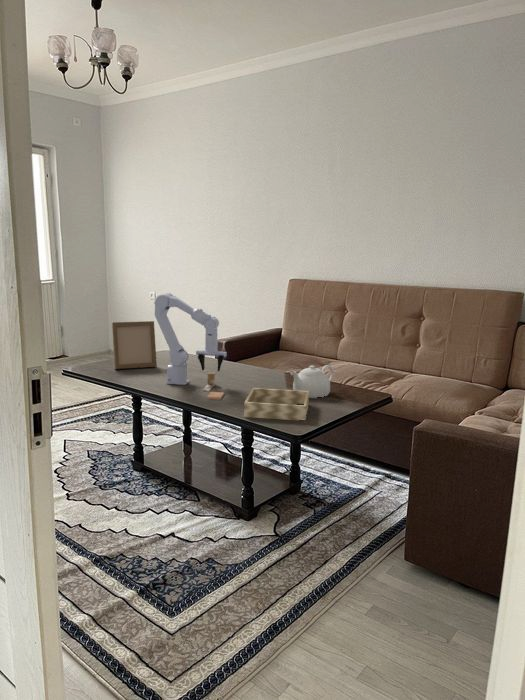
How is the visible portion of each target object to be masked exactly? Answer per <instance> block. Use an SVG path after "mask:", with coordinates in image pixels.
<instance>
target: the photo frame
mask: <svg viewBox="0 0 525 700" xmlns="http://www.w3.org/2000/svg"><path fill="white" fill-rule="evenodd" d="M111 324H112V325H111V326H112V327H111V329H112V343H113V356H114V357H113V360H114V370H121V369H136V368H138V367H139V368H151V367H152V368H154V367H157V365H158V364H157V362H158V361H157V350H156V349H157V348H156V333H155V321H154V320H151V321H124V322H123V321H116V322H112V323H111Z"/></svg>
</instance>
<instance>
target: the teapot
mask: <svg viewBox="0 0 525 700" xmlns="http://www.w3.org/2000/svg"><path fill="white" fill-rule="evenodd" d="M326 368H328V369H329V370H330V376H329V378H328V376H327V375H326V373H325V370H326ZM334 375H335V373H334V369H333V368H332V366H330V365H328V364H326V365H323V366H322V368H321V369H320V368H318V367H316V366H315V365H309V367H306V368H304V369H301V370H300V371H299V373H298V372H297V371H291V372H290V376H293V384H292V390H297V391H309V399H318V398H317V397H322V398H325V397H327V396H328V395H329V394H330V392H331V381H332V380H333V378H334ZM324 396H325V397H324Z"/></svg>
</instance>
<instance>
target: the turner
mask: <svg viewBox="0 0 525 700" xmlns="http://www.w3.org/2000/svg"><path fill="white" fill-rule="evenodd" d="M215 385H216V372H213V371H212V372H207V385H205V387H204V388H203V389H202V392H208V393H210V392H211V390H212V389H213V387H214V386H215Z"/></svg>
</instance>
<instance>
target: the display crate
mask: <svg viewBox="0 0 525 700" xmlns="http://www.w3.org/2000/svg"><path fill="white" fill-rule="evenodd" d="M309 399H310V398H309V391H297V390H293V389H278V388H277V389H276V388H259V387H252V389H251V390H250V392H249V394H248V395H247V397H246V399H245V401H244V403H243V407H244V408H243V417H244V418H251V419H252V418H253V419H256V418H257V419H271V420H272V419H273V420H286V421H287V420H288V421H299V420H306V421H307V416H306V415H307V414H308V409H309V403H310V402H309V401H310V400H309ZM297 404H304V405H297Z"/></svg>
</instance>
